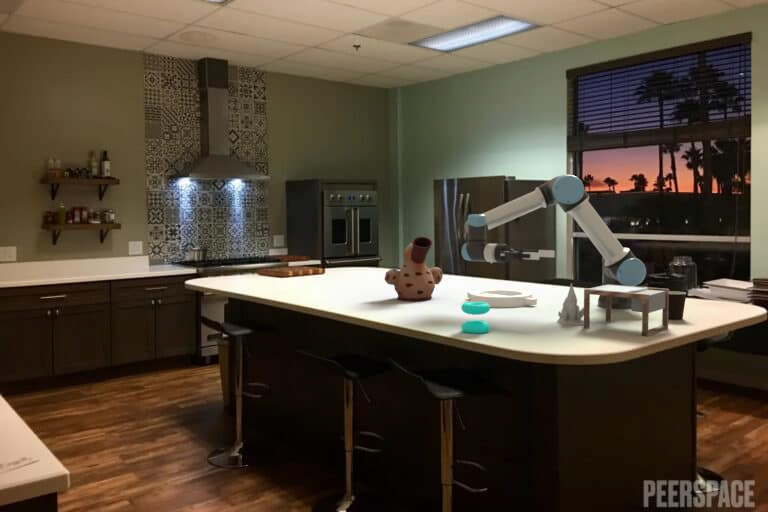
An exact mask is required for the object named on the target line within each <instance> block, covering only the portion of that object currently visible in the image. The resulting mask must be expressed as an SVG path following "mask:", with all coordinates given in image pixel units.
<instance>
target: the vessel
mask: <svg viewBox="0 0 768 512" xmlns="http://www.w3.org/2000/svg"><path fill="white" fill-rule="evenodd" d="M432 246H433V241H432V239H430V238H428V237H426V236H417V237H415V238H414V239H412V242H410V243H409V244H408V245H407V246H406V247H405V248H404V250H403V257H404V263H403V265H402V267H401V268H400V270H398V269H396V268H391V269H389V270H387V271H386V272H385V276H384V281H385V282H386V283H387V284H388V285H391V286H393V287H394V291H395V293H396V294H397V298H396V299H397V300H400V301H406V302H410V301H411V302H414V301H416V302H418V301H427V300H431V299H432V298H433V296H432V295H433V293H434V290H435V288H436V285H440V283H441V282H442V279H443V276H444V274H443V271H442V269H441V268H440V267H438V266H433V267H430V268H429V267H428V266H427V264H426V258H427V255H428V253H429V251H430V249H431V247H432Z"/></svg>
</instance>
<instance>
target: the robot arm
mask: <svg viewBox="0 0 768 512" xmlns="http://www.w3.org/2000/svg"><path fill="white" fill-rule="evenodd" d="M589 199H590V195H589V194H588V193H587V191H586V189H585V187H584V184H583V181H582V180H581V179H580V178H578V176H575V175H573V174H561V175H558V176H555V177H554V178H551V179H550V180H548V181H546V182H544V183H543V184H541V185H539V186H537V187H535V189H534V191H531V192H529V193H526V194H525V195H522V196H519V197H518V198H515V199H513V200H510V201H508V202H505V203H504V204H501V205H499V206H497V207H495V208H493V209H489V210H488V211H485V212H482V213H478V214H477V213H476V214H475V213H474V214H468V216H467V220H466V221H465V223H464V231H465V233H466V234H467V242H465V243H464V244H463V245H462V247H461V256H462V258H463V260H465V261H470V262H481V263H483V262H484V263H485V262H486V263H487V262H488V263H489V264H493V263H499V264H502V263H503V264H504V263H505V264H506V263H507V262H509V260H518V262H522V261H523V260H531V261H535V260H536V261H539V260H540V258H555V256H556V253H555V252H556V250H551V249H549V250H548V249H541V248H540V247H538V248H537V249H522V248H511V247H510V246H509V245H508V244H506V243H487V232H488V231H489V230H492V229H494V228H496V227H498V226H501V225H504V224H506V223H508V222H510V221H513V220H515V219H517V218H520V217H522V216H525V215H526V214H528V213H532V212H533V211H535V210H539V209H540V208H545V209H546V208H548V207H551V206H554V205H555V206H556V205H558V206H559V207H560V208H561V210H562V212H564V213H565V214H568V215H569V214H570V215H571V216H572V218H573V219H574V220H575V221H576V223H577V224H578V226H579V227H580V228H581V230H582V231H583V232H584V233H585V235H586V236H587V237H588V239H589V240H590V241H591V243H592V244H593V245H594V247H595V248H596V249H597V251H598V252H599V254H600V255H601V256H602V260H601V262H602V278H601V279H602V282H601V283H602V285H601V286H603V285H607V284H609V285H622V286H635V287H637V286H638V285H640V284H642V283H643V281H644V280H645V278H646V276H647V268H646V265H645V264H644V262H643V261H642V260H640V259H639V258H637V257H636V256H635V254H633V252H632V250H631V249H630V248H629V247H623V245H622V244H621V243H620V241H619V240H618V239H617V237H616V236H615V235H614V233H613V232H612V231H611V229H610V228H609V227H608V225H607V224H606V223H605V221H604V220H603V219H602V218H601V216H600V215H599V213H598V212H597V210H595V208H594V207H593V205H592V203H590V201H589ZM598 296H599V297H598V299H597V306H599V307H603V308H606V296H604V295H598ZM631 308H632V298H626V297H615V296H612V299H611V309H631Z"/></svg>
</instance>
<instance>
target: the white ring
mask: <svg viewBox="0 0 768 512" xmlns="http://www.w3.org/2000/svg"><path fill="white" fill-rule="evenodd" d="M466 296H467V298H469V302H484V303H487V304H489V306H490V308H518V307H528V306H536V305H538V303H537V302H538V298H533V293H532V292H531V291H527V290H523V289H522V290H519V289H511V288H510V289H507V288H505V289H504V288H501V289H500V288H492V289H491V288H489V289H479V290H478V289H476V290H472V291H469V292H467V295H466Z"/></svg>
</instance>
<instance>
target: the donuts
mask: <svg viewBox="0 0 768 512" xmlns="http://www.w3.org/2000/svg"><path fill="white" fill-rule="evenodd" d="M460 307H461V310H462V312H464V313H466V314H467V315H472V316H478V315H485V314H487V313H488V312H490V310H491V307H490V306H489V304H487V303H484V302H470V301H468V302H464V303H462V304H461V306H460ZM490 329H491V326H490V324H489V323H488V322H486V321H484V320H481V319H480V320H479V319H475V320H474V319H472V320H467V321H465V322H463V323H462V324H461V330H462V331H463V332H465V333H468V334H485V332H486V333H488V332H489V331H490Z"/></svg>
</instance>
